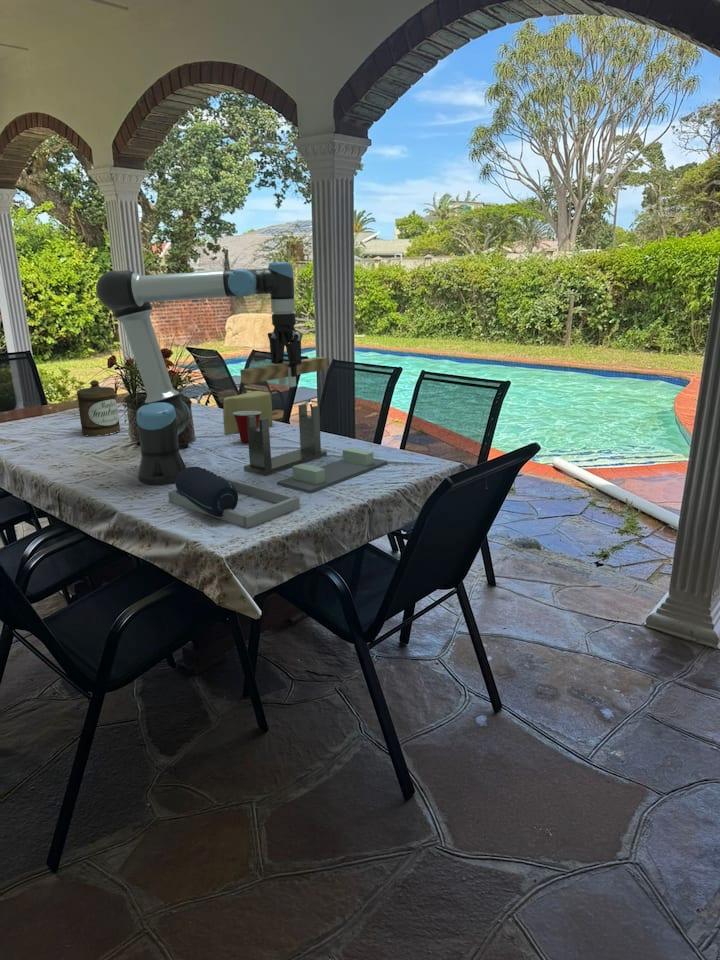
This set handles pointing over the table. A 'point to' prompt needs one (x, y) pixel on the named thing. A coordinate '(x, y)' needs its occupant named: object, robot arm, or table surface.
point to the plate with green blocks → (331, 471)
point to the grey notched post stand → (307, 452)
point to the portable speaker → (207, 490)
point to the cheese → (246, 408)
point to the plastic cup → (245, 422)
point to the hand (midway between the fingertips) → (287, 385)
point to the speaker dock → (248, 520)
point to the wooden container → (98, 410)
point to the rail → (281, 370)
